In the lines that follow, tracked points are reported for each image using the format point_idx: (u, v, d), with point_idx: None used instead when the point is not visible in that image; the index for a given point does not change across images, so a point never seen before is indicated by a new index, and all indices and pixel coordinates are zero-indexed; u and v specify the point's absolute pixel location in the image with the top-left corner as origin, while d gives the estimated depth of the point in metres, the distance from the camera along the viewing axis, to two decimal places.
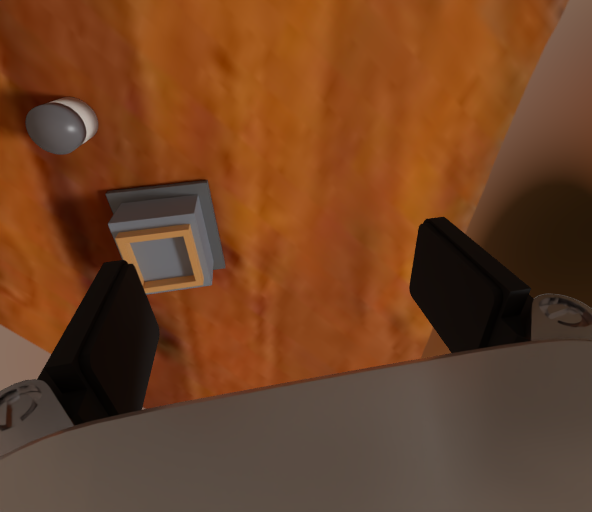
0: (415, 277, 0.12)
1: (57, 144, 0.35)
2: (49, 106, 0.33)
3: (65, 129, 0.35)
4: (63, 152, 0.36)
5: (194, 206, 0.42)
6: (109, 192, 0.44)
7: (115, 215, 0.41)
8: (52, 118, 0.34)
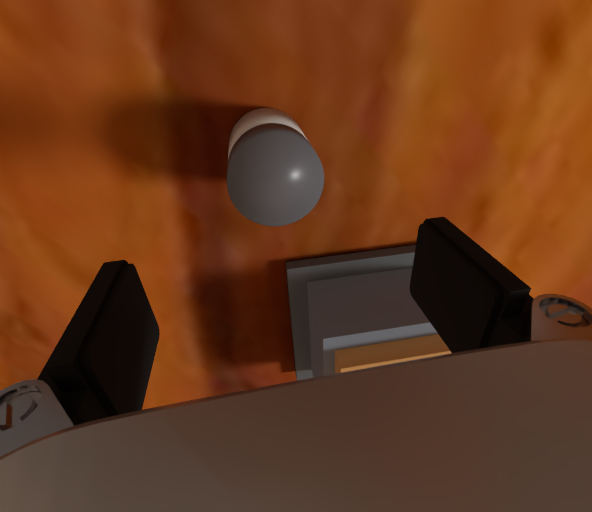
0: (415, 278, 0.12)
1: (275, 208, 0.17)
2: (284, 135, 0.15)
3: (300, 180, 0.17)
4: (281, 222, 0.18)
5: None
6: (291, 265, 0.26)
7: (320, 314, 0.24)
8: (283, 159, 0.16)
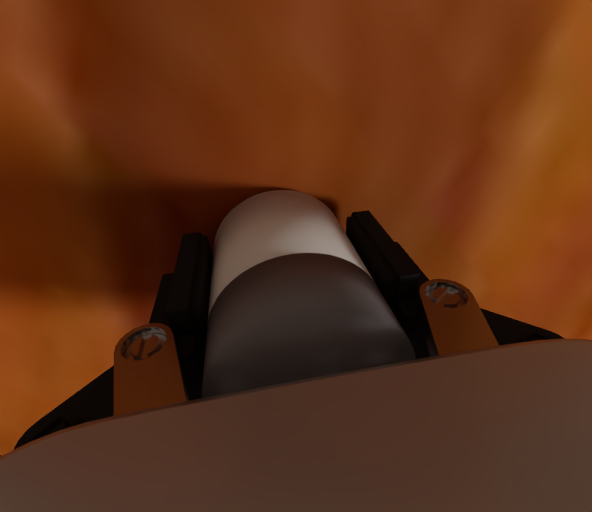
0: None
1: None
2: (339, 310, 0.06)
3: None
4: None
5: None
6: None
7: None
8: (331, 353, 0.07)
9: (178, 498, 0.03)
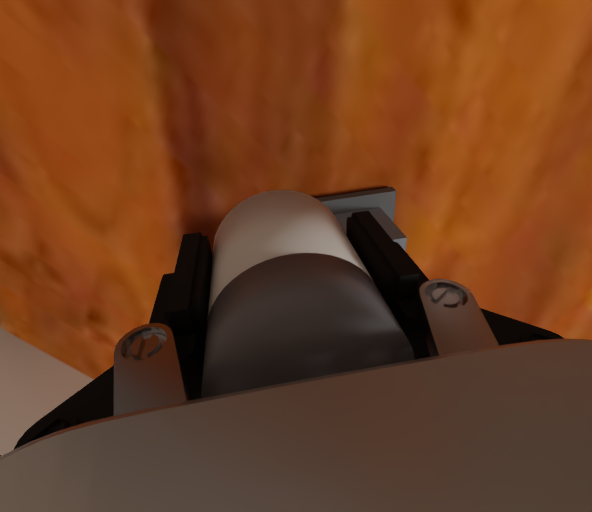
0: None
1: None
2: (338, 310, 0.06)
3: None
4: None
5: (395, 226, 0.30)
6: None
7: None
8: (330, 352, 0.07)
9: (178, 498, 0.03)
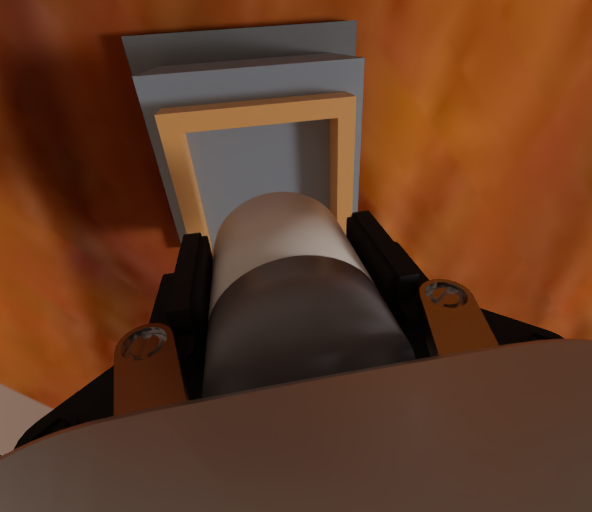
0: None
1: None
2: (339, 312, 0.06)
3: None
4: None
5: (348, 56, 0.17)
6: (130, 36, 0.18)
7: (149, 71, 0.16)
8: (331, 355, 0.07)
9: (178, 498, 0.03)
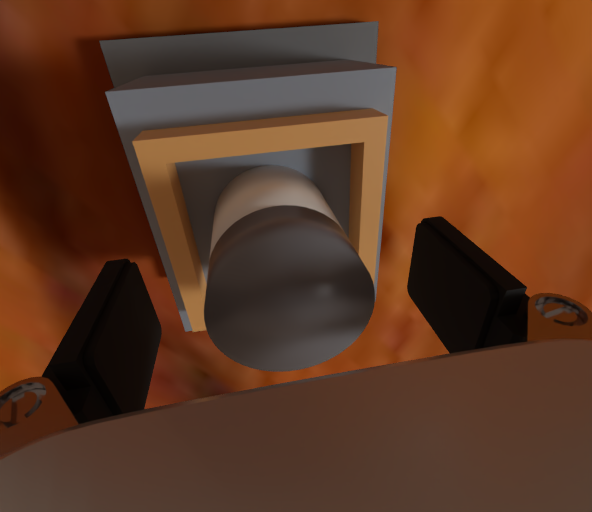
0: (413, 277, 0.12)
1: (291, 347, 0.10)
2: (307, 239, 0.08)
3: (334, 305, 0.10)
4: (301, 365, 0.11)
5: (372, 64, 0.14)
6: (110, 40, 0.15)
7: (130, 84, 0.13)
8: (304, 277, 0.09)
9: (178, 498, 0.03)
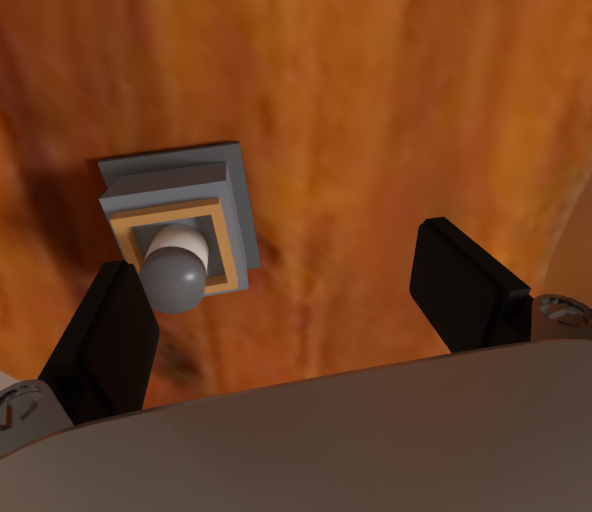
0: (415, 277, 0.12)
1: (174, 302, 0.25)
2: (168, 260, 0.24)
3: (187, 284, 0.25)
4: (181, 310, 0.26)
5: (224, 173, 0.29)
6: (102, 160, 0.31)
7: (110, 189, 0.28)
8: (171, 274, 0.24)
9: (178, 498, 0.03)
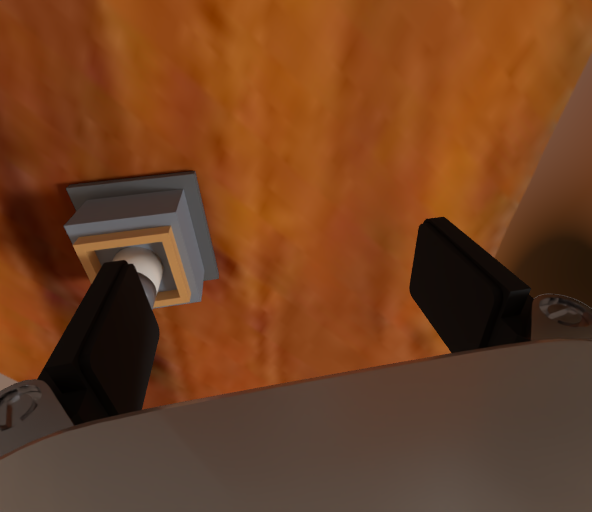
0: (415, 277, 0.12)
1: None
2: None
3: None
4: None
5: (177, 203, 0.33)
6: (71, 186, 0.35)
7: (76, 215, 0.32)
8: None
9: (178, 498, 0.03)
